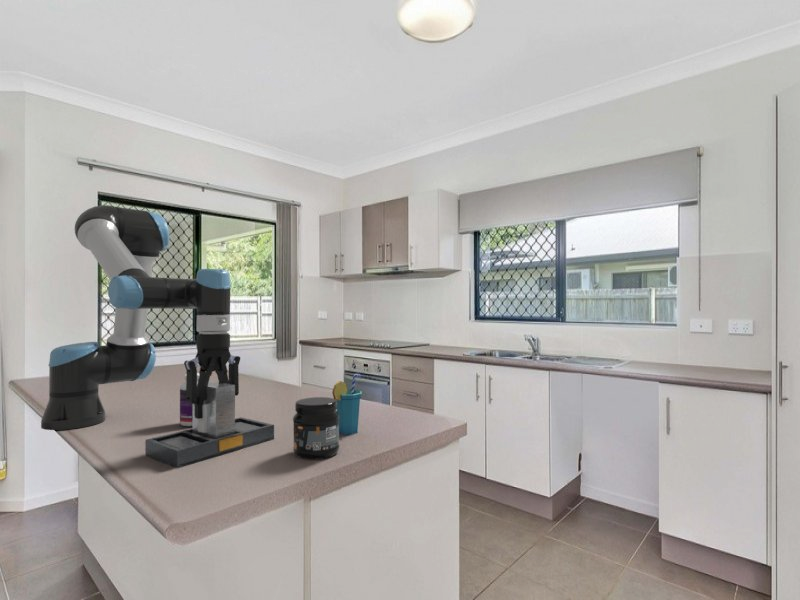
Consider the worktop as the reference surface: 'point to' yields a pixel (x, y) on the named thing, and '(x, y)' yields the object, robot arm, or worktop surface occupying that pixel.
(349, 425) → the cup
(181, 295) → the robot arm
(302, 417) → the supplement container
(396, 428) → the worktop surface
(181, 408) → the pill bottle
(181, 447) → the rack
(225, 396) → the grey rectangular block
